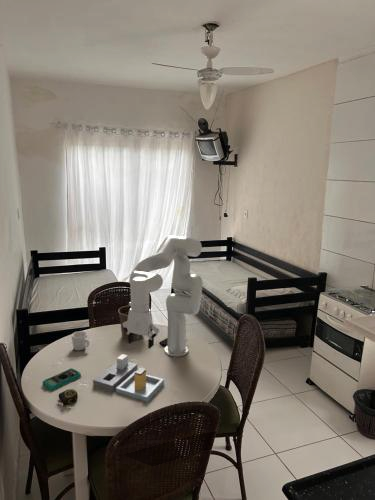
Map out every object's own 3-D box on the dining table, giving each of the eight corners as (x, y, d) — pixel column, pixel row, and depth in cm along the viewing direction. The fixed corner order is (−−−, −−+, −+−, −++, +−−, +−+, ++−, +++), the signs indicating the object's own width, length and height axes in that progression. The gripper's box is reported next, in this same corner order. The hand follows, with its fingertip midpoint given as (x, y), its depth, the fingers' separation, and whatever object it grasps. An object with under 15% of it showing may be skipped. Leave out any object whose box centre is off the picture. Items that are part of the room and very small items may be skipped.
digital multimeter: (82, 378, 167) (82, 372, 167) (51, 393, 156) (51, 386, 155) (72, 372, 172) (72, 366, 172) (42, 386, 160) (41, 380, 160)
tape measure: (58, 400, 151) (57, 391, 150) (74, 394, 154) (74, 386, 154) (63, 408, 145) (62, 400, 144) (80, 403, 149) (79, 394, 148)
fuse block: (119, 366, 178) (119, 359, 177) (137, 370, 174) (137, 364, 173) (93, 387, 160) (93, 379, 159) (112, 393, 156) (112, 385, 155)
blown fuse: (140, 384, 162) (140, 367, 160) (146, 385, 161) (146, 369, 159) (134, 389, 158) (134, 372, 156) (140, 391, 157) (140, 374, 155)
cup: (94, 348, 195) (94, 334, 193) (82, 354, 188) (82, 340, 186) (80, 343, 200) (79, 329, 199) (68, 349, 194) (68, 335, 192)
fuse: (122, 369, 174) (122, 353, 172) (127, 370, 173) (127, 355, 171) (117, 374, 170) (116, 358, 168) (122, 375, 169) (122, 359, 167)
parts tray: (135, 376, 169) (134, 371, 169) (163, 384, 163) (163, 379, 163) (116, 393, 156) (115, 388, 155) (146, 402, 150) (146, 397, 149)
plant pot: (147, 330, 219) (147, 304, 215) (146, 342, 203) (146, 315, 200) (120, 330, 218) (119, 304, 214) (116, 343, 202) (116, 315, 199)
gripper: (117, 306, 152) (118, 344, 156) (154, 313, 145) (154, 353, 149) (127, 300, 159) (128, 337, 162) (162, 307, 152) (163, 345, 156)
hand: (140, 344), depth 156 cm, fingers open, 9 cm apart
